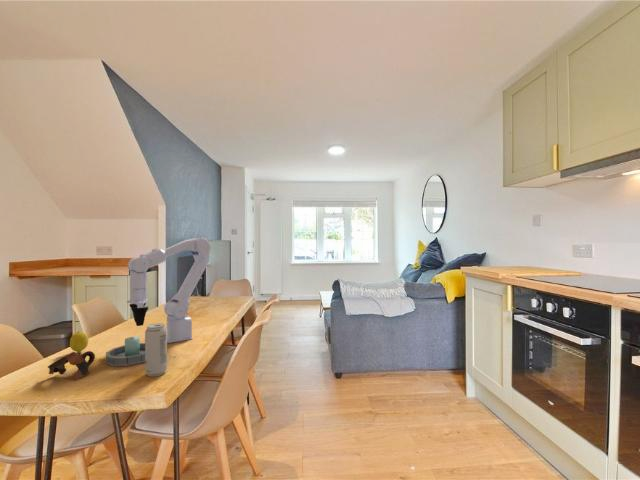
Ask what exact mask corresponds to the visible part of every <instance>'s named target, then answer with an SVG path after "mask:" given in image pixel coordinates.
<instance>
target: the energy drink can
mask: <svg viewBox="0 0 640 480" xmlns="http://www.w3.org/2000/svg"><path fill="white" fill-rule="evenodd" d="M144 343H145V362H144V365H145V367H144V369H145V370H144V372H145V373H146V374H147V375H146V376H147V377H150V378H153V377H159V376H163V375H164V374H165V373H166V371H167V369H168V353H167V352H168V351H167V350H168V349H167V348H168V345H167V344H168V343H167V327H165V324H164V323H160V322H159V323H153V324H152V323H151V324H148V325H147V326H146V330H145V331H144Z"/></svg>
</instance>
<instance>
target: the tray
mask: <svg viewBox="0 0 640 480" xmlns="http://www.w3.org/2000/svg"><path fill="white" fill-rule="evenodd" d="M140 364H145V342H140V354H139V355H134V356H128V357H125V344H124V345H120V346H117V347H114V348H111V349H110V350H108V351H106V352H105V365H107V366H109V367H121V368H122V367H128V366H135V365H140Z"/></svg>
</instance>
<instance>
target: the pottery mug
mask: <svg viewBox="0 0 640 480" xmlns="http://www.w3.org/2000/svg"><path fill="white" fill-rule="evenodd" d="M87 357H88V360H86V358H87ZM95 359H96V354H95V353H94V352H93V351H90V350H89V351H85V352H83V353H81V354H76V351H72V352H70V353H68V354H66V355H64V356H63V357H60V358H59V359H57V360H55V361H54V362H51V363H50V364H49V365H48V366H47V368H48V369H49V370H48V375H54V373H55V374H56V373H58V374H60V375H63V374H64V373H66V372H67V368H66V367H65V366H66V364H68V363H69V365H72V366H75V367H77V369H78V370H77V371H75V372H73V373H72V377H73V378H74V380H75V381H77V380H79V379H81V378H83V377H85V376H86V375H88V374H89V373H90V372H89V368H90V366H91V365H92V364H93V363H94V362H95Z"/></svg>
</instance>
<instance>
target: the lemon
mask: <svg viewBox="0 0 640 480" xmlns="http://www.w3.org/2000/svg"><path fill="white" fill-rule="evenodd" d="M88 344H89V337H88V335H87V333H85V332H83V331H80V330H78V331H77V332H75V333H73V334H72V335H71V337H70V339H69V347H70V349H71V350H72V351H73V352H77V353H81V352H82V351H83V350H85V349H86V348H87V347H88Z"/></svg>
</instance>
